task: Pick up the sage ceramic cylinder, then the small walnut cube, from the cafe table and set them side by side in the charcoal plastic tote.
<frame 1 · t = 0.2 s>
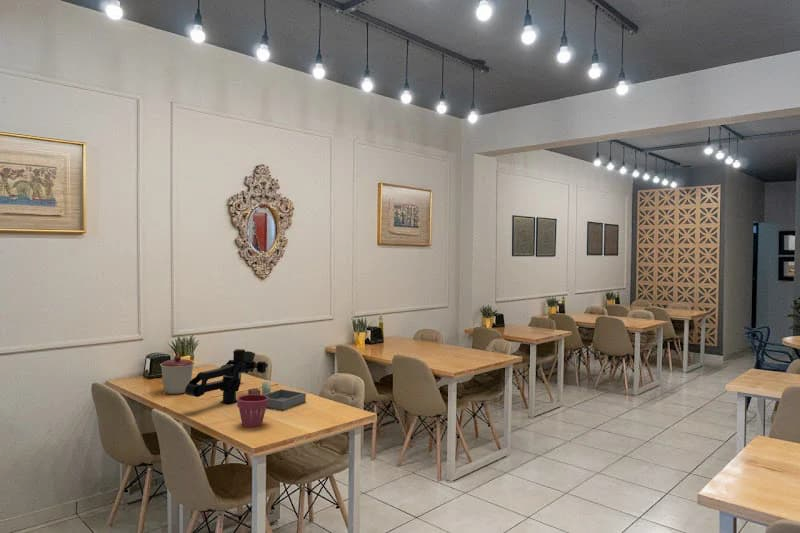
hand: (261, 364, 316), 17 cm above the table, tool horizontal, fingers open, 9 cm apart
walnut cube: (254, 398, 303), on the table
sage cylinder: (266, 394, 312), on the table
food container: (235, 384, 334), on the table
plant pot: (252, 424, 257), on the table
tote: (281, 404, 293), on the table
canister: (176, 392, 312), on the table
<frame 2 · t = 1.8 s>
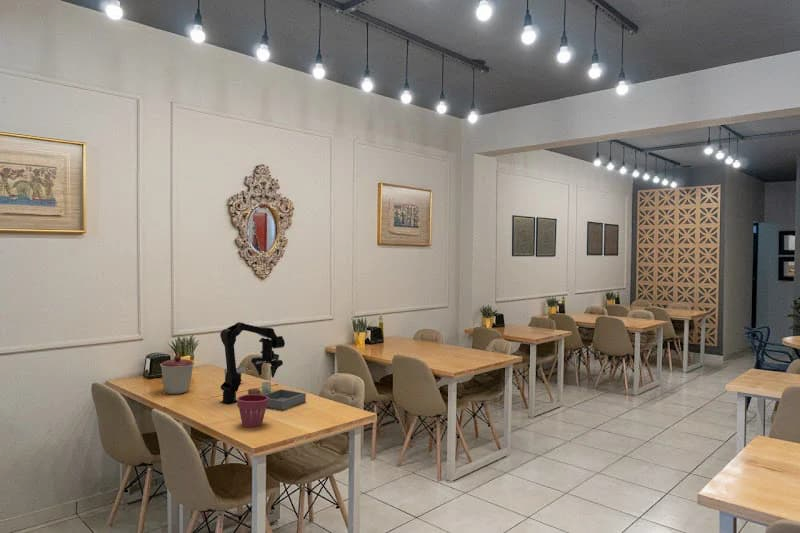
hand: (266, 376, 311), 11 cm above the table, tool pointing down, fingers open, 9 cm apart
nothing on the table moved.
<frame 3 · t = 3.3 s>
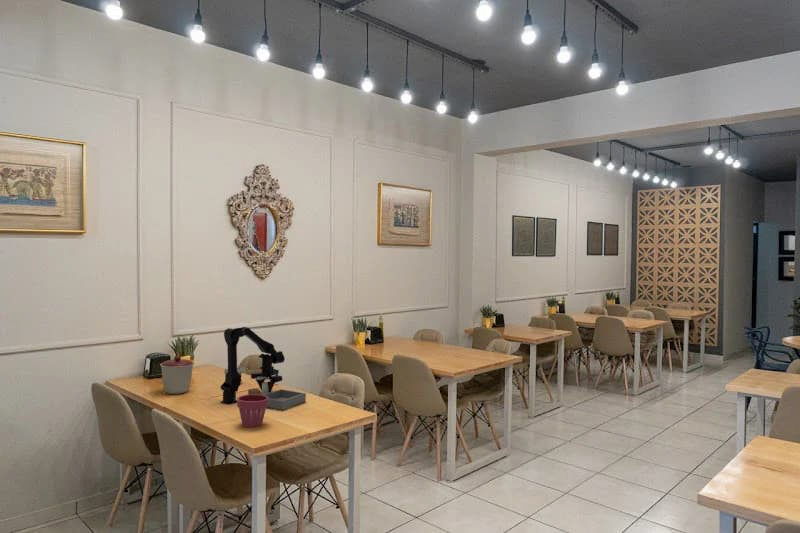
hand: (266, 392, 312), 2 cm above the table, tool pointing down, fingers closed on sage cylinder, 5 cm apart
sage cylinder: (266, 394, 312), on the table, touching gripper
everything else where it was.
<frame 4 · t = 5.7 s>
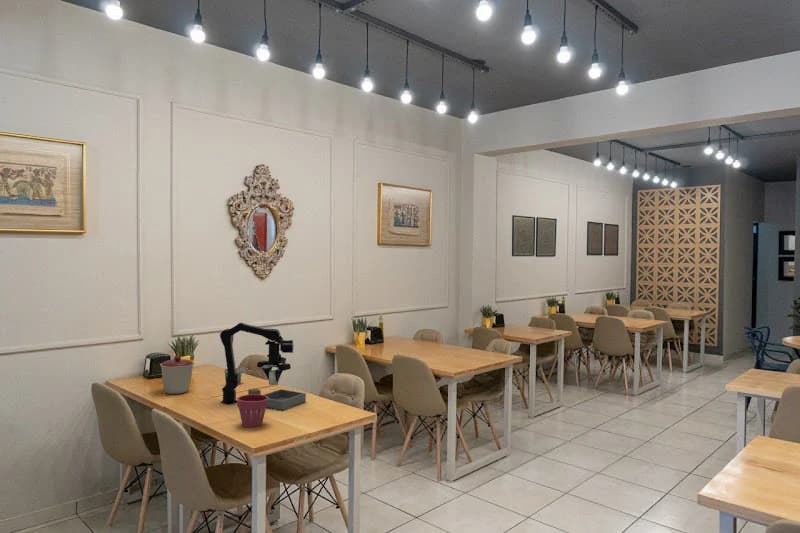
hand: (273, 381, 295), 12 cm above the table, tool pointing down, fingers closed on sage cylinder, 5 cm apart
sage cylinder: (273, 384, 296), point 10 cm above the table, touching gripper
everything else where it was.
when the fingers open (4 cm above the table, at t = 8.1 s): sage cylinder drops 2 cm, resting on tote.
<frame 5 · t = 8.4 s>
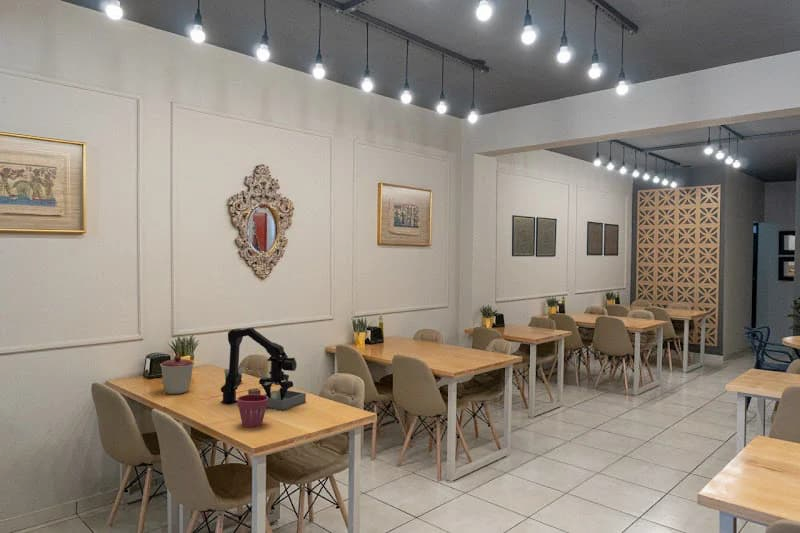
hand: (275, 398, 288), 4 cm above the table, tool pointing down, fingers open, 8 cm apart
sage cylinder: (275, 404, 288), point 1 cm above the table, touching tote
everything else where it was.
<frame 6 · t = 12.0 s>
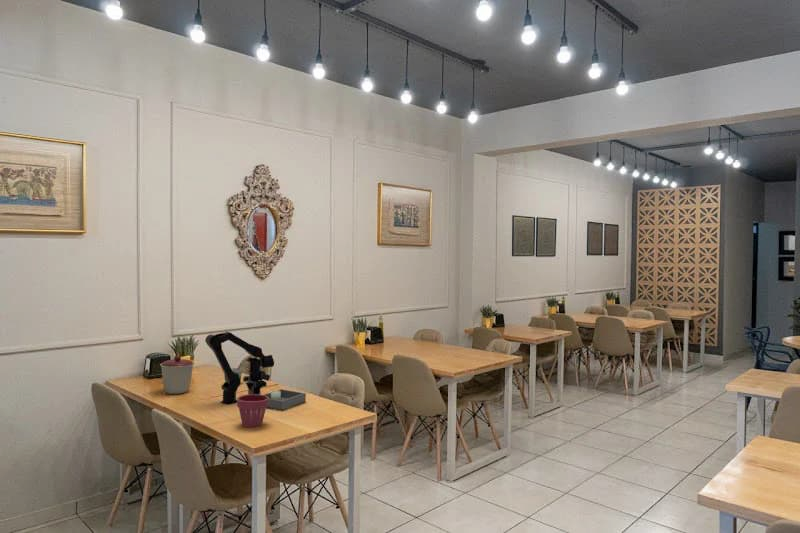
hand: (254, 396, 303), 1 cm above the table, tool pointing down, fingers closed on walnut cube, 5 cm apart
walnut cube: (254, 398, 303), on the table, touching gripper
everything else where it was.
when the fingers open (4 cm above the table, at t = 16.5 s): walnut cube drops 2 cm, resting on tote.
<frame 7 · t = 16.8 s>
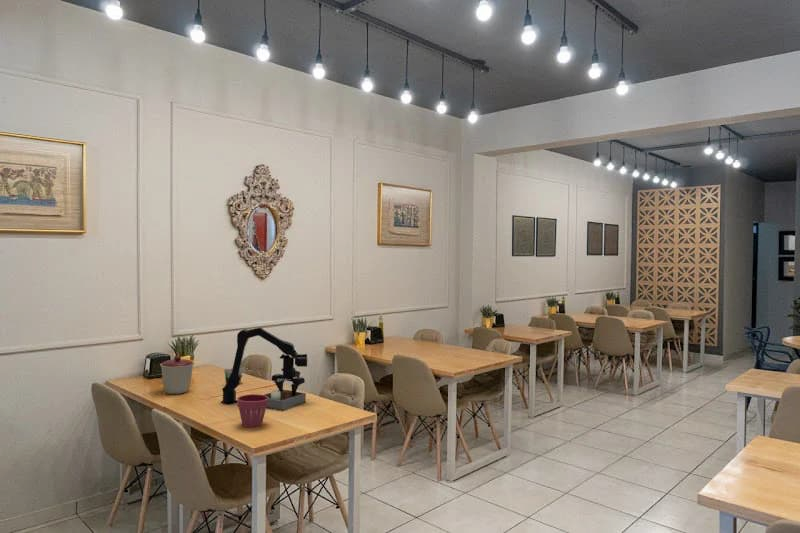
hand: (287, 394, 297), 4 cm above the table, tool pointing down, fingers open, 8 cm apart
walnut cube: (287, 400, 297), point 1 cm above the table, touching tote
everything else where it was.
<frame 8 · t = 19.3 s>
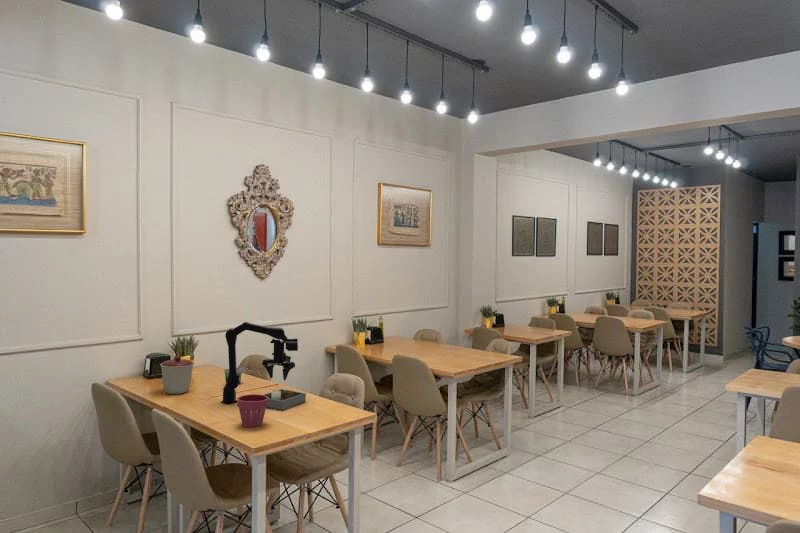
hand: (278, 379, 299), 12 cm above the table, tool pointing down, fingers open, 9 cm apart
nothing on the table moved.
at the end: sage cylinder inside the target area on the tote (4.9 cm from its centre), point 0.9 cm above the tote's base; walnut cube inside the target area on the tote (5.1 cm from its centre), point 0.8 cm above the tote's base; sage cylinder tilted 2° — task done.
